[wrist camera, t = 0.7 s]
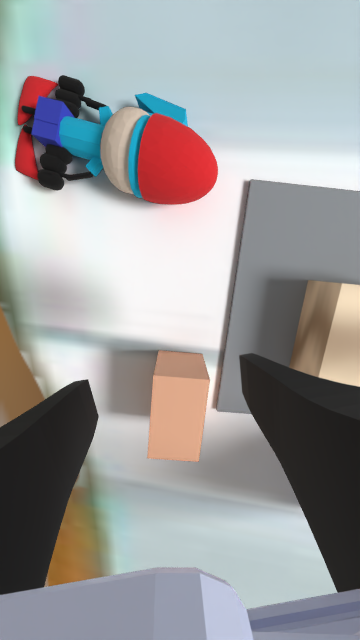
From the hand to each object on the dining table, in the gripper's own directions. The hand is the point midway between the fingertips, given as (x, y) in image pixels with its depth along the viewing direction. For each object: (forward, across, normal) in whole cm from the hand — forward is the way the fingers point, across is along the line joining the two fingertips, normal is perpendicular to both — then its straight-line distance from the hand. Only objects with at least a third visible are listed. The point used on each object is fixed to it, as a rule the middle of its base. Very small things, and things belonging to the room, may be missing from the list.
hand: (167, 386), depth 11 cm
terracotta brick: (+10, 0, +6) cm, 11 cm away
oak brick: (+9, -14, +2) cm, 17 cm away
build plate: (+9, -14, +1) cm, 16 cm away
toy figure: (+11, +1, -13) cm, 17 cm away
